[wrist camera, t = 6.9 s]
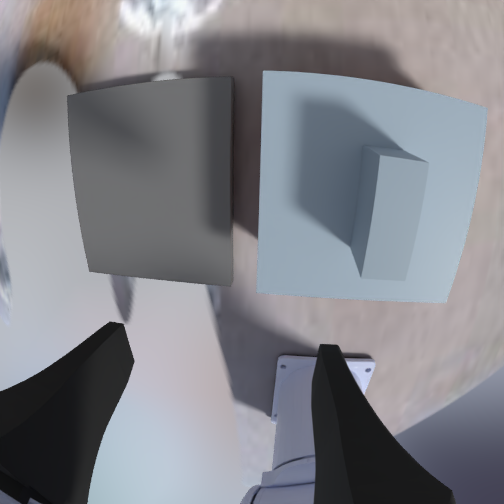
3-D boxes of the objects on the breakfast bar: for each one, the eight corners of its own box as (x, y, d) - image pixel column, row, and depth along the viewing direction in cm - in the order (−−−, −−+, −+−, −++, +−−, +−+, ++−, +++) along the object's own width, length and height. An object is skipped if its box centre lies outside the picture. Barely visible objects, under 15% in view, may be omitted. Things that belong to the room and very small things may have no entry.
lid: (441, 295, 17) (464, 335, 13) (257, 285, 18) (249, 328, 14) (479, 107, 12) (522, 113, 8) (264, 72, 13) (255, 61, 10)
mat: (232, 280, 22) (230, 286, 21) (94, 266, 23) (89, 271, 22) (233, 77, 16) (231, 76, 16) (74, 95, 17) (67, 95, 17)
